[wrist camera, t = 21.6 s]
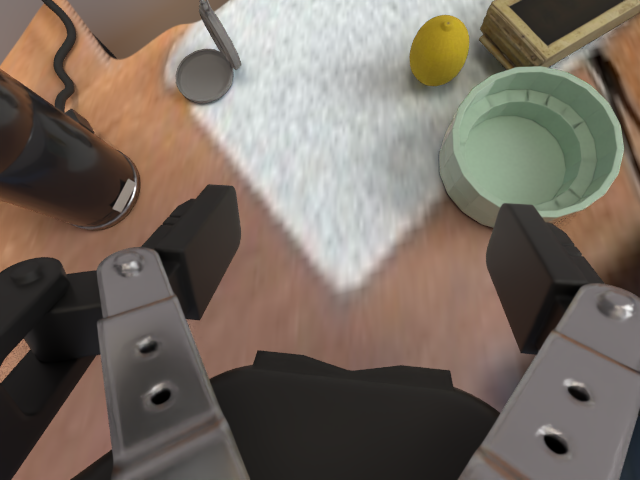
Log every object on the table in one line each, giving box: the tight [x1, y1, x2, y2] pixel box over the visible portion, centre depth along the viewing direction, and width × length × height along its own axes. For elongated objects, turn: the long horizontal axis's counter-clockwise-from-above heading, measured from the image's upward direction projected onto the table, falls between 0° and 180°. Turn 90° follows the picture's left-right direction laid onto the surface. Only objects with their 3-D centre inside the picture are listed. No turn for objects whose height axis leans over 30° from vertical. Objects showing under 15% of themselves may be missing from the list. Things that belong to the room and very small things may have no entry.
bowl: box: [439, 66, 624, 228], centre depth 36 cm, size 14×14×6 cm
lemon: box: [410, 15, 469, 86], centre depth 38 cm, size 6×6×8 cm
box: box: [479, 0, 640, 70], centre depth 39 cm, size 8×22×5 cm, turn 125°
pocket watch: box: [176, 0, 241, 103], centre depth 39 cm, size 8×8×10 cm
